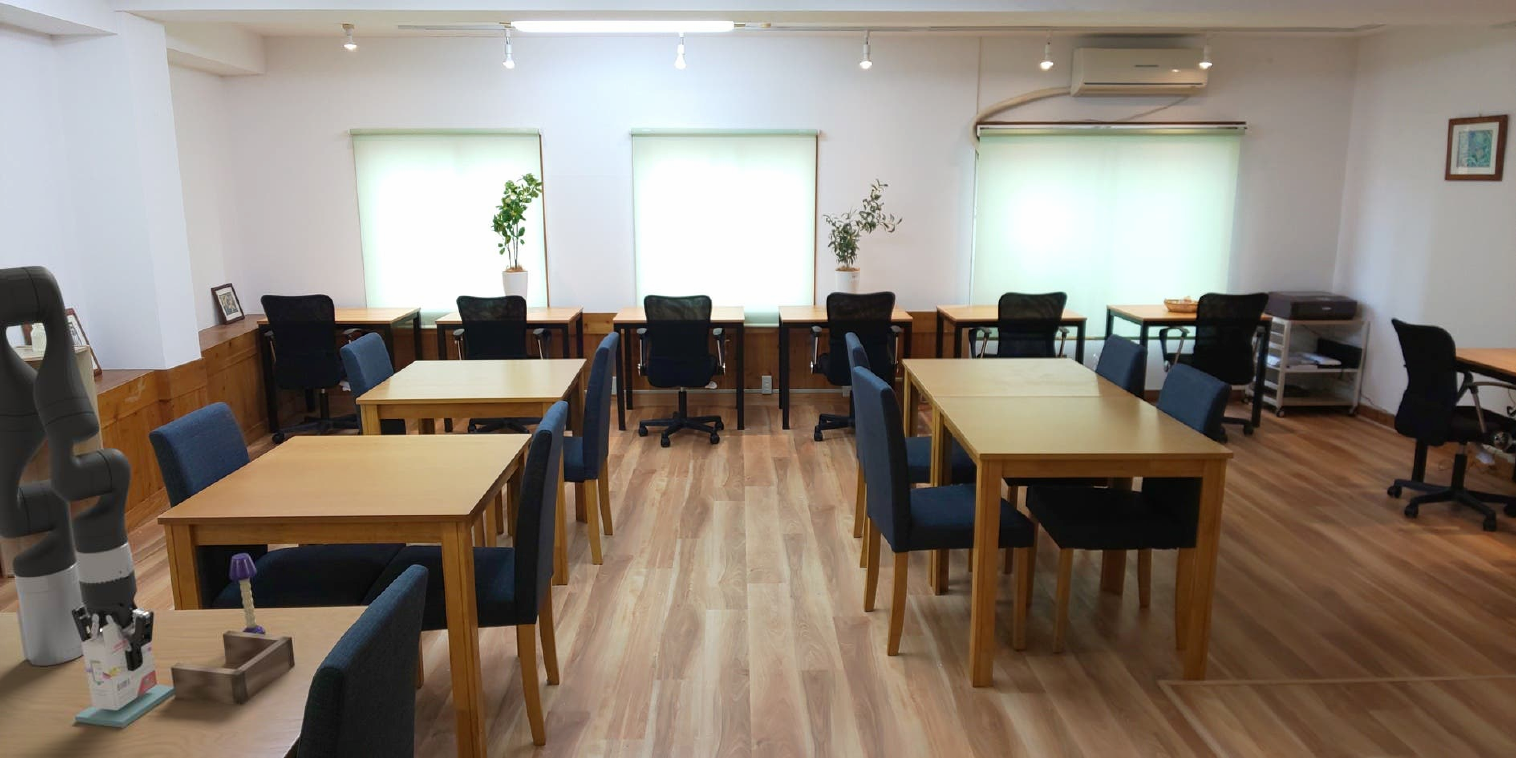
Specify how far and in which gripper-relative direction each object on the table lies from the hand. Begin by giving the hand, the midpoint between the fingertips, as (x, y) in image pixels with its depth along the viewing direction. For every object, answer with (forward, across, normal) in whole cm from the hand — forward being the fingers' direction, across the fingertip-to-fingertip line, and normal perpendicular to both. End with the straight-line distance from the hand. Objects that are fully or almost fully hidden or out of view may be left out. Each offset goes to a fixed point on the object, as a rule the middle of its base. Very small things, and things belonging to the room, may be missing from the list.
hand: (120, 666), depth 160 cm
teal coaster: (+7, 0, 0) cm, 7 cm away
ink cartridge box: (+6, 0, 0) cm, 6 cm away
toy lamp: (+8, +3, +26) cm, 27 cm away
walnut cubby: (+7, +12, +11) cm, 18 cm away
